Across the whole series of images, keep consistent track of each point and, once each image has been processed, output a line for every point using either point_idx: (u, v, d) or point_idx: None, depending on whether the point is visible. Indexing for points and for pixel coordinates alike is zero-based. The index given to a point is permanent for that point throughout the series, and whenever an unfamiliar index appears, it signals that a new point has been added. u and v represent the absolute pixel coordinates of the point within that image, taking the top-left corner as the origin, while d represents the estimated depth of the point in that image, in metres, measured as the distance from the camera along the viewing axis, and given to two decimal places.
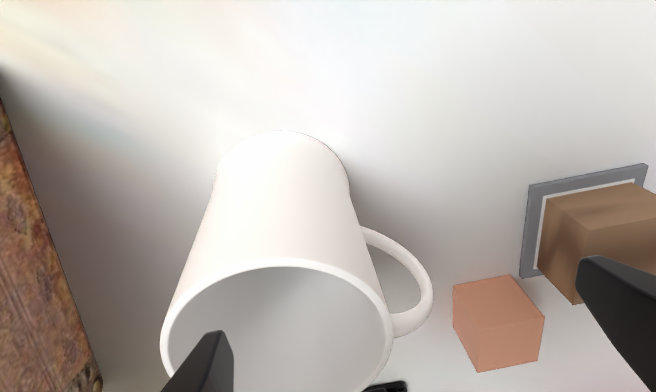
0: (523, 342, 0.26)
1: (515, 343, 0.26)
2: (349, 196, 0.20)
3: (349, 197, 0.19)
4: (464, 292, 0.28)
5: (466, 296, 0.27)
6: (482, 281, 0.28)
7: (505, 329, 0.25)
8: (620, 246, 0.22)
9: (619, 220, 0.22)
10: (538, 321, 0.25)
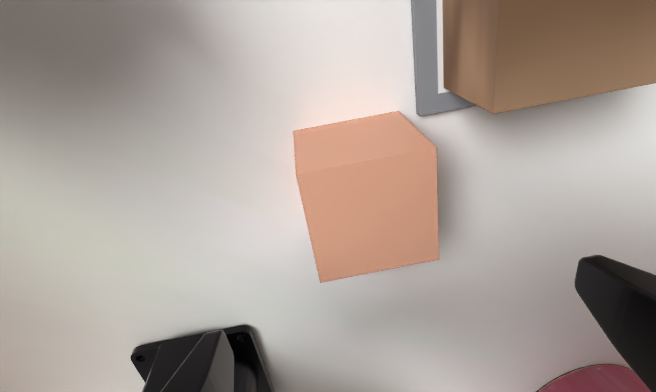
0: (401, 212, 0.13)
1: (383, 213, 0.13)
2: None
3: None
4: (305, 135, 0.15)
5: (305, 139, 0.14)
6: (346, 122, 0.15)
7: (354, 175, 0.12)
8: None
9: None
10: (424, 158, 0.12)
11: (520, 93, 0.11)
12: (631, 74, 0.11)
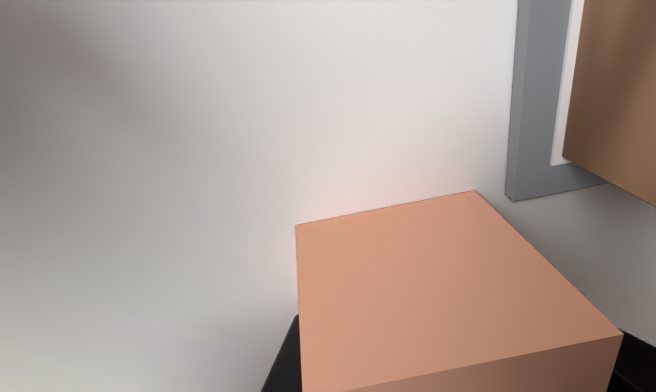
0: None
1: None
2: None
3: None
4: (318, 244, 0.08)
5: (318, 257, 0.08)
6: (387, 212, 0.09)
7: None
8: None
9: None
10: (591, 354, 0.05)
11: None
12: None
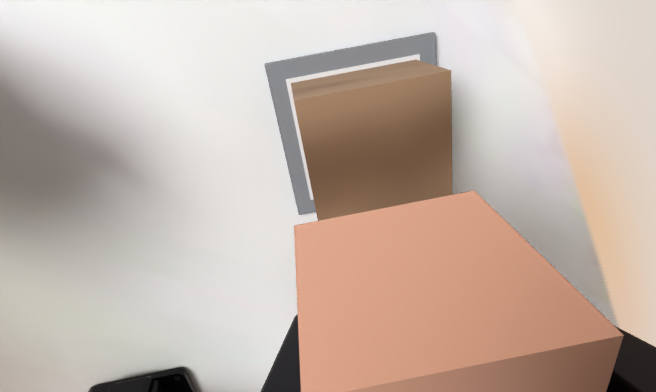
0: None
1: None
2: None
3: None
4: (317, 245, 0.08)
5: (318, 258, 0.08)
6: (387, 213, 0.09)
7: None
8: (360, 133, 0.14)
9: (349, 88, 0.14)
10: (590, 356, 0.05)
11: None
12: None
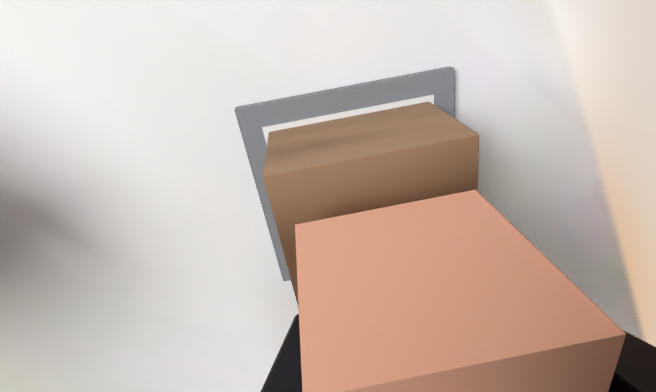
0: None
1: None
2: None
3: None
4: (318, 244, 0.08)
5: (318, 257, 0.08)
6: (388, 212, 0.09)
7: None
8: None
9: (339, 156, 0.10)
10: (593, 354, 0.05)
11: None
12: None
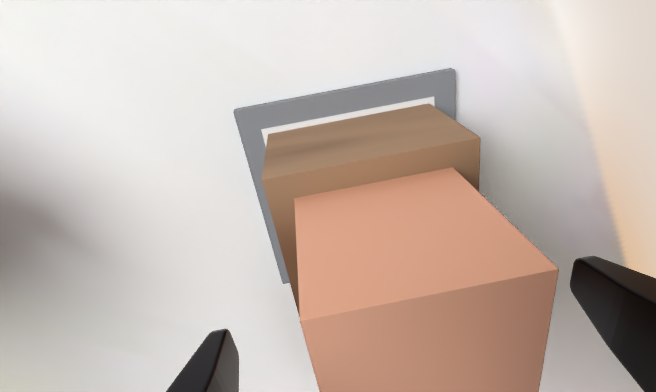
0: (483, 365, 0.07)
1: (452, 368, 0.07)
2: None
3: None
4: (314, 212, 0.09)
5: (314, 222, 0.09)
6: (375, 186, 0.10)
7: (407, 319, 0.06)
8: None
9: (339, 159, 0.10)
10: (533, 287, 0.06)
11: None
12: None
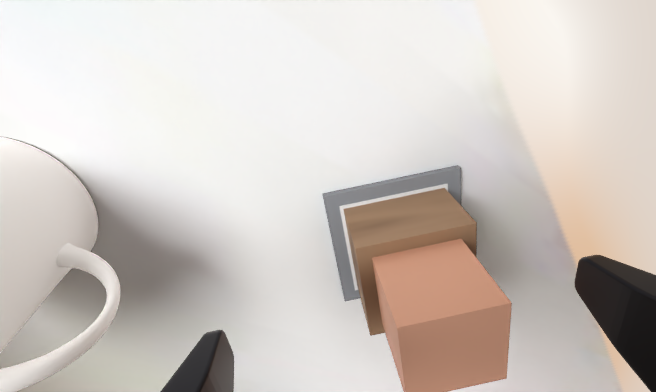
0: (479, 348, 0.15)
1: (464, 349, 0.15)
2: (32, 214, 0.16)
3: (24, 215, 0.16)
4: (387, 268, 0.17)
5: (389, 274, 0.17)
6: (418, 251, 0.18)
7: (444, 326, 0.14)
8: None
9: (397, 235, 0.18)
10: (501, 311, 0.14)
11: None
12: None
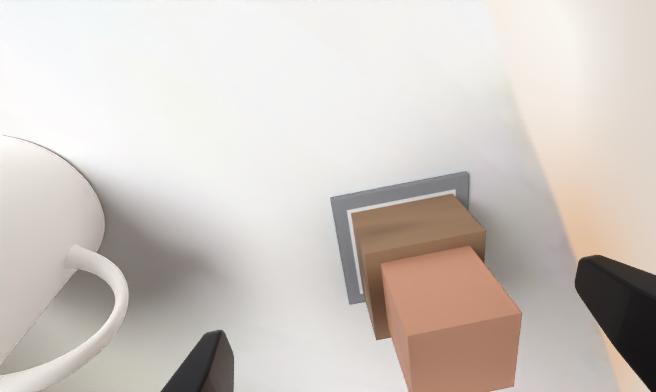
0: (488, 356, 0.15)
1: (473, 357, 0.15)
2: (41, 215, 0.16)
3: (33, 217, 0.16)
4: (395, 274, 0.17)
5: (398, 281, 0.17)
6: (427, 257, 0.18)
7: (454, 335, 0.14)
8: None
9: (405, 241, 0.18)
10: (511, 320, 0.14)
11: None
12: None
